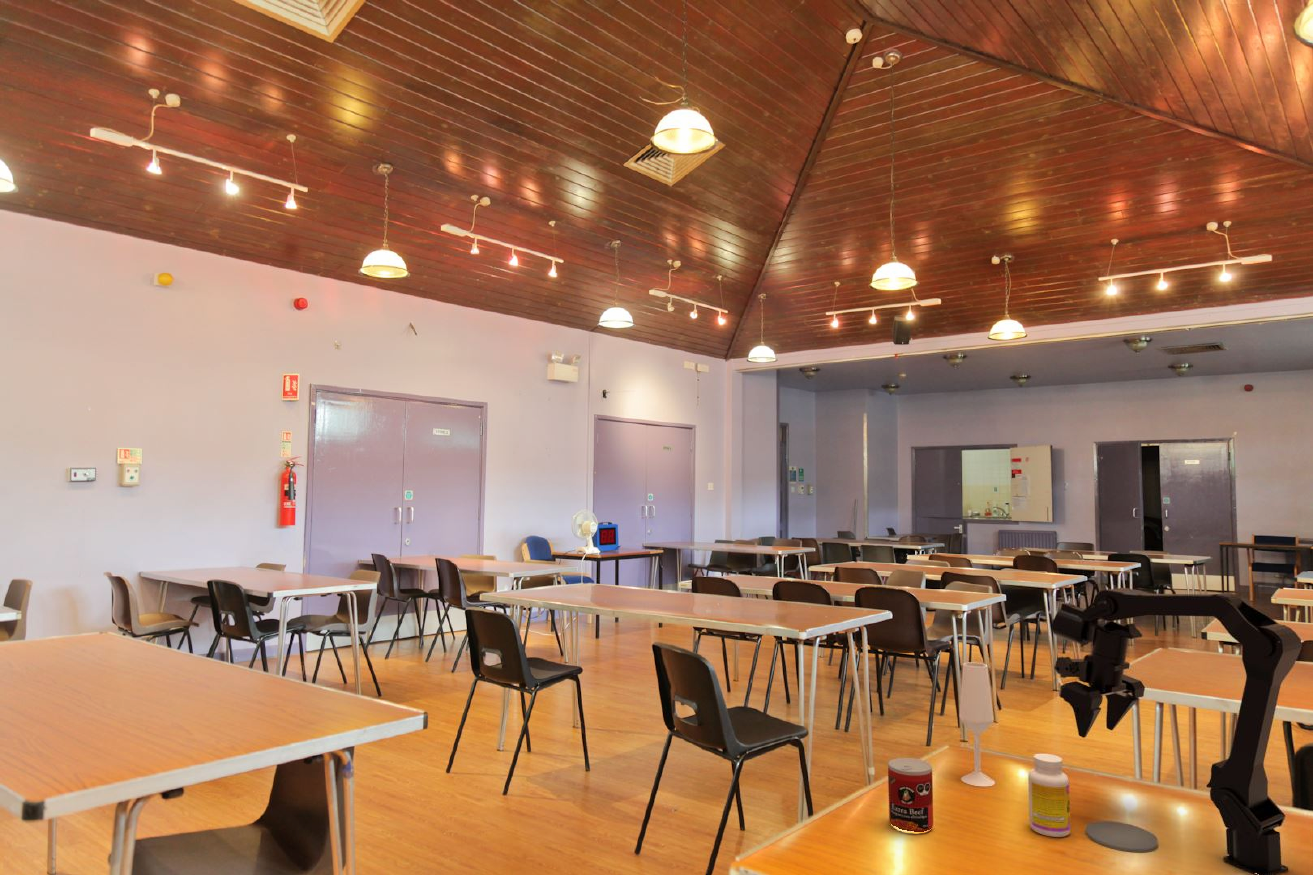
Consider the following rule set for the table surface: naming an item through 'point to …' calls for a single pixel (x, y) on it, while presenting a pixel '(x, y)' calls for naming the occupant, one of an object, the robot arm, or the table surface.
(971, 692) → the champagne flute
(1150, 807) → the table surface
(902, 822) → the canned food
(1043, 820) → the supplement bottle
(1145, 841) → the slate coaster
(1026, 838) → the table surface
